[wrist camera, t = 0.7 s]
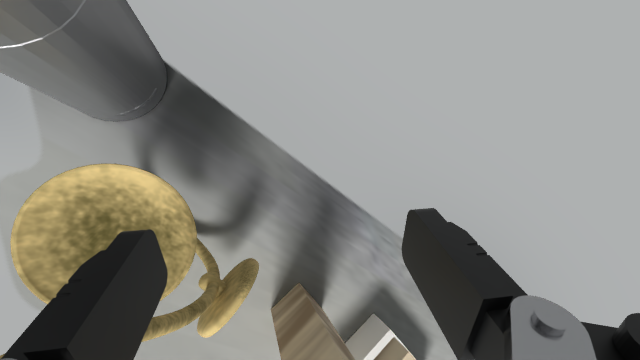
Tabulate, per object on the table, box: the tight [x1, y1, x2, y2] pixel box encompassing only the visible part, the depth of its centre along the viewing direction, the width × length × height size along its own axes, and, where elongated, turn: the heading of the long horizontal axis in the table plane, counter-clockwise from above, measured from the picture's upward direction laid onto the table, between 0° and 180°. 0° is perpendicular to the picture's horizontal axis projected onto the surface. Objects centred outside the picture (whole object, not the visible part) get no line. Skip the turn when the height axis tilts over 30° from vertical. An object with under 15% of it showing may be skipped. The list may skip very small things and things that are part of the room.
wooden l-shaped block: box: [271, 283, 416, 360], centre depth 22 cm, size 4×7×18 cm, turn 131°
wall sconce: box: [0, 164, 259, 359], centre depth 16 cm, size 14×10×25 cm
